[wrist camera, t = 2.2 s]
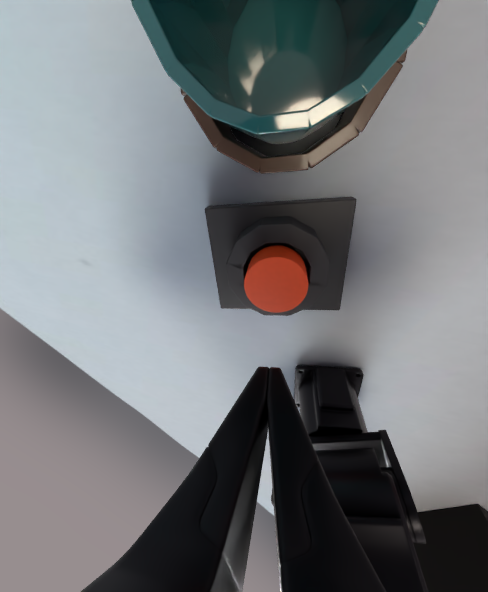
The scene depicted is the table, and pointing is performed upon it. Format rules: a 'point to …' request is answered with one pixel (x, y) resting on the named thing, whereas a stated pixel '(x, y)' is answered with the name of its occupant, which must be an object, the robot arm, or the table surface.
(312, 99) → the cup
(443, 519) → the matte black box
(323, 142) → the stave barrel planter
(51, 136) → the table surface
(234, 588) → the robot arm
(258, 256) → the release button
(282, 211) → the button housing
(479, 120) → the table surface
